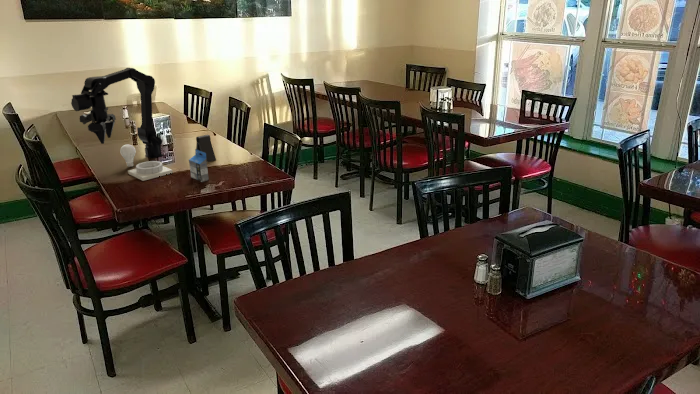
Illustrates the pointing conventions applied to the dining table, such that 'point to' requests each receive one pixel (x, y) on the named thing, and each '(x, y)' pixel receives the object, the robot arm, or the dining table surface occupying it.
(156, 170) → the socket base
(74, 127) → the dining table surface
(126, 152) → the light bulb
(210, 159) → the phone stand
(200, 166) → the retail box
